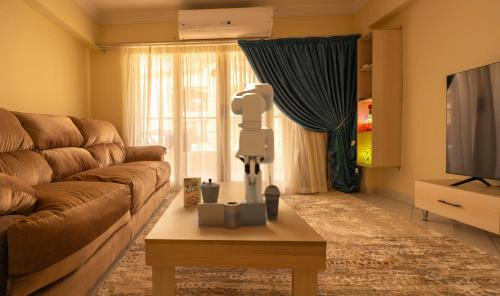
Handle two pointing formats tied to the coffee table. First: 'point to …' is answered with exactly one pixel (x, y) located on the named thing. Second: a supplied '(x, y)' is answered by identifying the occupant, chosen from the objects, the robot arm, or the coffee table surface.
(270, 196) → the beverage cup
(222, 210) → the hinge
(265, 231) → the coffee table surface
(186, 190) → the candy box
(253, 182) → the steel pin
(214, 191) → the coffeepot
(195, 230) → the coffee table surface
